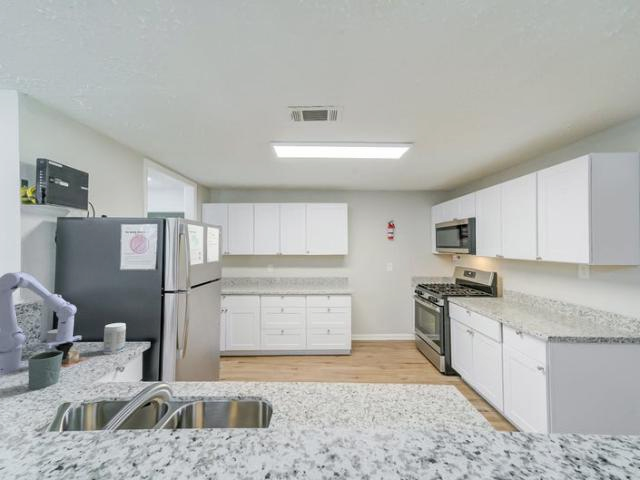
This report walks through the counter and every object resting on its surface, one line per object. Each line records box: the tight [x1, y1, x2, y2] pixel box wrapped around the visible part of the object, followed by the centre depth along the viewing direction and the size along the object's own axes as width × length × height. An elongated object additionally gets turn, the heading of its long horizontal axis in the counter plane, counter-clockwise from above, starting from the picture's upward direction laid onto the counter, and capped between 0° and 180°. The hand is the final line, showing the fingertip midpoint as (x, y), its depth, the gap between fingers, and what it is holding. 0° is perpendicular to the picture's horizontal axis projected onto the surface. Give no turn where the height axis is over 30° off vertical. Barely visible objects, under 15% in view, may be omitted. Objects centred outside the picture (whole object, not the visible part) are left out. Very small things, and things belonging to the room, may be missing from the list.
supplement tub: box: [102, 322, 127, 355], centre depth 150 cm, size 10×10×15 cm
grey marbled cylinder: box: [44, 328, 71, 352], centre depth 144 cm, size 10×10×12 cm
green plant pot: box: [27, 351, 63, 391], centre depth 111 cm, size 10×10×12 cm
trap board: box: [61, 356, 90, 368], centre depth 134 cm, size 12×11×1 cm
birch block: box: [61, 349, 80, 363], centre depth 135 cm, size 4×4×4 cm
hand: (62, 359), depth 131 cm, fingers closed
